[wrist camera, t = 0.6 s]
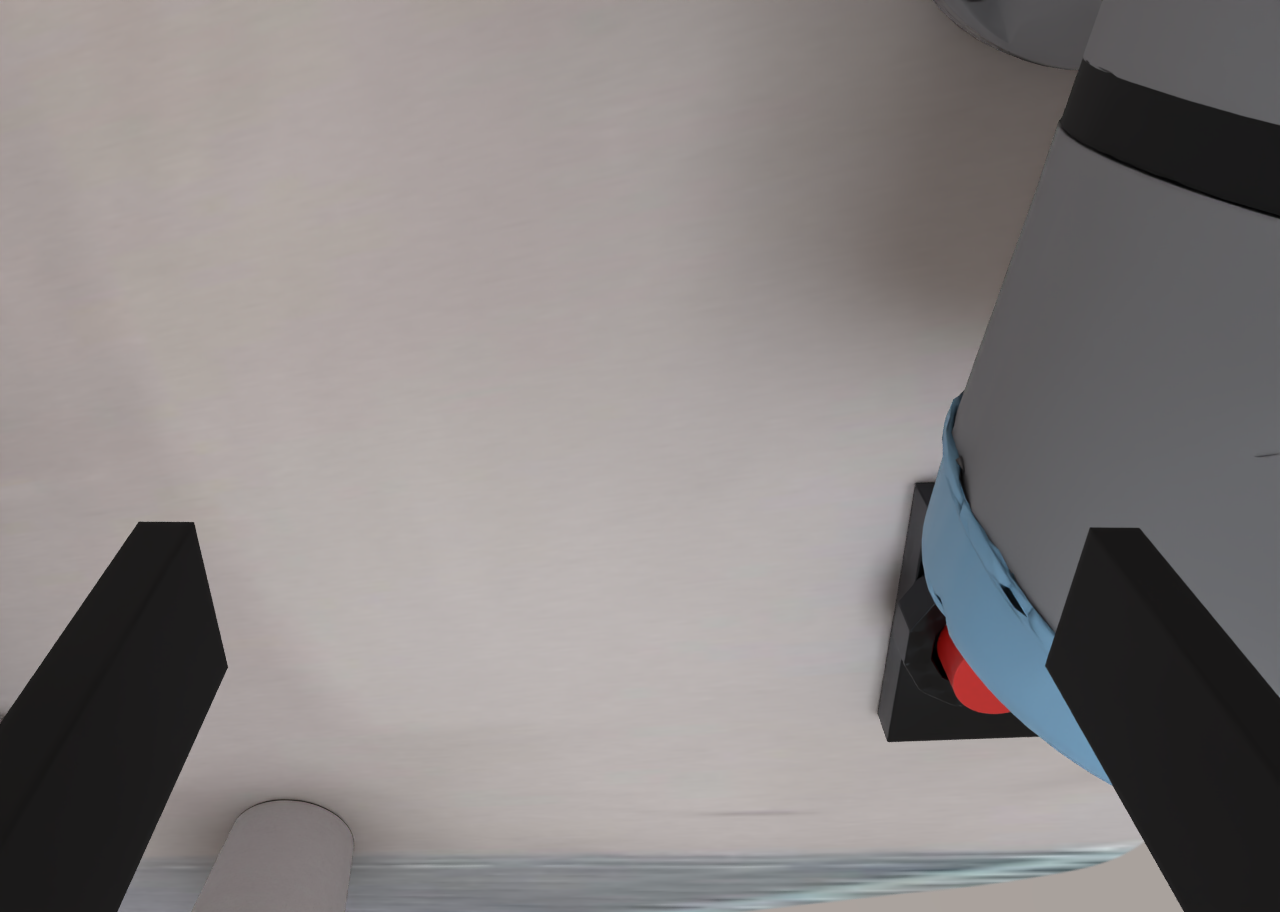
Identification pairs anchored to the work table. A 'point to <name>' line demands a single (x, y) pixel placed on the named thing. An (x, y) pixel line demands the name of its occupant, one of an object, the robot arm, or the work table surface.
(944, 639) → the button
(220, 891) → the coffee cup
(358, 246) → the work table surface
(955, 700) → the switch box
